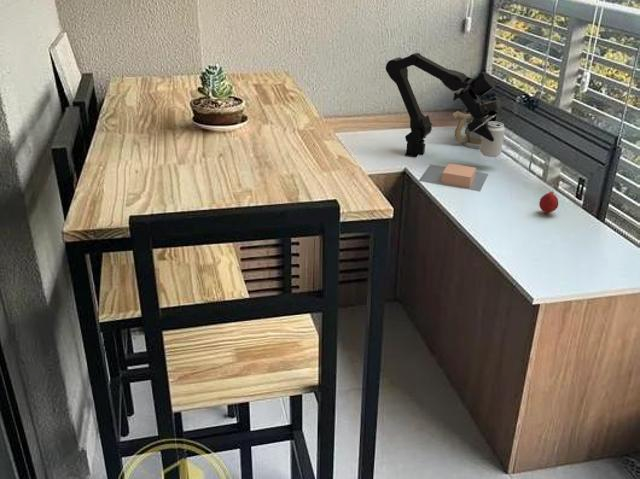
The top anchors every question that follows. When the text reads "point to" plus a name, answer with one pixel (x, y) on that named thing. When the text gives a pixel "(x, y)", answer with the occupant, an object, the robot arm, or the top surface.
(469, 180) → the block
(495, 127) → the can
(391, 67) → the robot arm
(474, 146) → the tankard
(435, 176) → the baseplate
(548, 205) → the onion
